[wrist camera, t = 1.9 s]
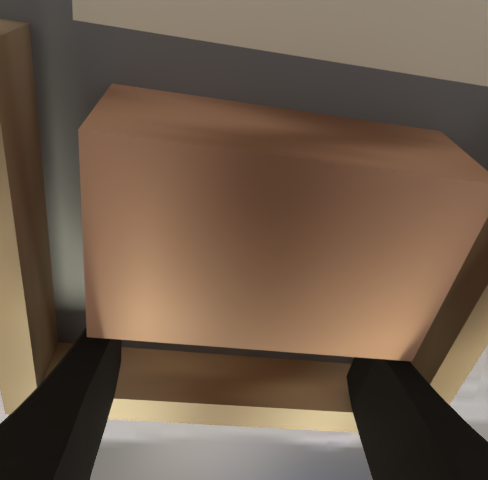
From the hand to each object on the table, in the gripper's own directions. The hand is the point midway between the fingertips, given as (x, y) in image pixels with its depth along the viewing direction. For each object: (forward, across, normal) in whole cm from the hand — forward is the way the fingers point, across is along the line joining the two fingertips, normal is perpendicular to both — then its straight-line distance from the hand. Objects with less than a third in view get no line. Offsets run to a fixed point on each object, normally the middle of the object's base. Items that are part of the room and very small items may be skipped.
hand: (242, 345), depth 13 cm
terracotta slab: (+1, 0, -4) cm, 4 cm away
